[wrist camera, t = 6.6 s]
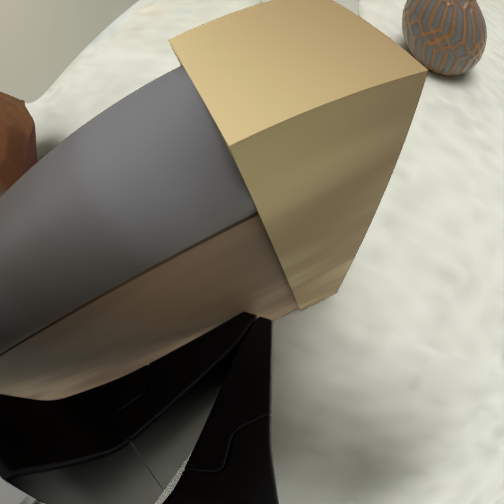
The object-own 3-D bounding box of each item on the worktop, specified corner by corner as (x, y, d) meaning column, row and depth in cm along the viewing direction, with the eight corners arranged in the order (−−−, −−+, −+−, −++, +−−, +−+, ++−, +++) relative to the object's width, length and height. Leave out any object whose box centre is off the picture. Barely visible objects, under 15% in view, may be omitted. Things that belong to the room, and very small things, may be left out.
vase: (381, 44, 19) (387, -43, 11) (432, 34, 19) (445, -39, 10) (438, 95, 17) (468, 1, 8) (485, 80, 16) (515, 5, 8)
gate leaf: (81, 400, 14) (-106, 407, 3) (72, 372, 15) (-114, 358, 3) (336, 292, 13) (428, 69, 2) (318, 257, 14) (314, -11, 2)
